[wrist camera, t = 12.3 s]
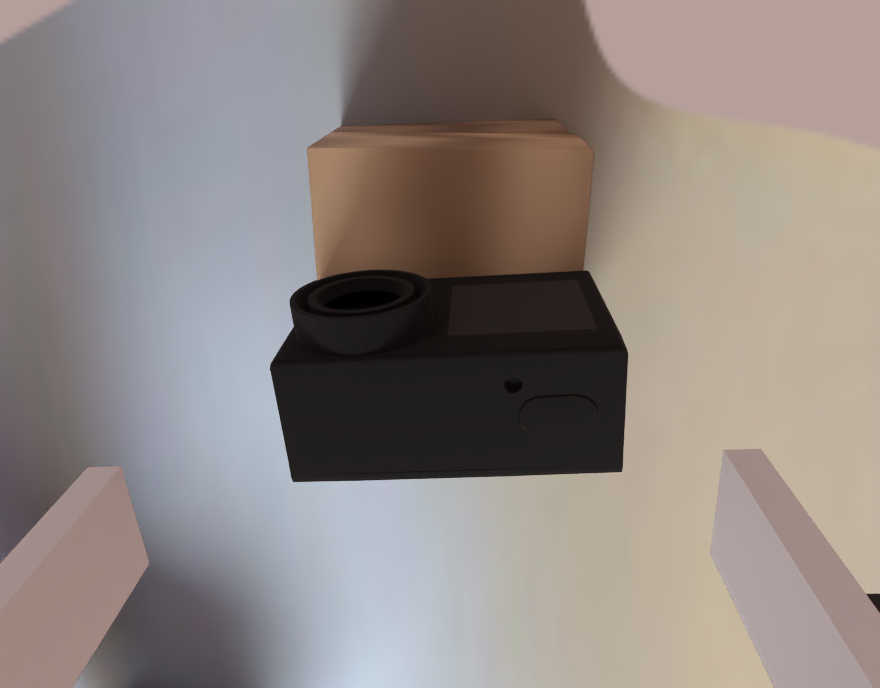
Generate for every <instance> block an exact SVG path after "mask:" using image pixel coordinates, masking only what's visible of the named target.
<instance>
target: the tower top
mask: <svg viewBox="0 0 880 688" xmlns="http://www.w3.org/2000/svg"><path fill="white" fill-rule="evenodd" d="M307 154H308V167H309V180H310V193H311V205H312V218H313V231H314V244H315V257H316V270H317V280H319V279H322V278H325V277H329V276H332V275H337V274H342V273H348V272H354V271H363V270H399V271H405V272H410V273H415V274H418V275H420V276H422V277H424V278H426V279H430V278H450V277H469V276H489V275H509V274H528V273H548V272H568V271H583V266H584V256H585V245H586V234H587V224H588V213H589V202H590V191H591V181H592V170H593V159H594V150H593V149H592V148H591V147H590V146H589V145H588V144H587V143H586V142H585V141H584V140H583V139H581V138H580V137H579V136H578V135H577V134H532V133H396V132H331V133H330V134H328V135H327V136H325V137H323V138H322V139H320V140H319V141H317V142H316V143H314V144H312V145H311V146H309V147H308V148H307Z"/></svg>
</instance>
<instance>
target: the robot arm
mask: <svg viewBox="0 0 880 688" xmlns="http://www.w3.org/2000/svg"><path fill="white" fill-rule="evenodd" d="M710 554H711V556H712V558H713V560H714V562H715V564H716V566H717V569H718V571H719V573H720V575H721V577H722V579H723V581H724V583H725V585H726V588H727V590H728V592H729V594H730V596H731V598H732V600H733V602H734V604H735V606H736V609H737V611H738V613H739V615H740V617H741V619H742V621H743V623H744V625H745V628H746V630H747V632H748V634H749V636H750V638H751V640H752V642H753V644H754V646H755V649H756V651H757V653H758V655H759V657H760V659H761V661H762V663H763V665H764V667H765V670H766V672H767V674H768V676H769V678H770V680H771V682H772V684H773V686H774V688H880V594H866V593H865V592H864V591H863V589H862V588H861V587H860V585H859V584H858V582H857V581H856V580H855V578H854V577H853V575H852V574H851V573H850V571H849V570H848V569H847V567H846V566H845V564H844V563H843V562H842V560H841V559H840V558H839V556H838V555H837V553H836V552H835V551H834V549H833V548H832V546H831V545H830V544H829V542H828V541H827V540H826V538H825V537H824V535H823V534H822V533H821V531H820V530H819V529H818V527H817V526H816V524H815V523H814V522H813V520H812V519H811V517H810V516H809V515H808V513H807V512H806V511H805V509H804V508H803V506H802V505H801V504H800V502H799V501H798V500H797V498H796V497H795V495H794V494H793V493H792V491H791V490H790V489H789V487H788V486H787V484H786V483H785V482H784V480H783V479H782V477H781V476H780V475H779V473H778V472H777V471H776V469H775V468H774V466H773V465H772V464H771V462H770V461H769V460H768V458H767V457H766V455H765V454H764V453H763V451H762V450H761V449H740V450H724V451H723V458H722V466H721V473H720V481H719V489H718V496H717V504H716V512H715V519H714V527H713V535H712V542H711V550H710ZM148 565H149V559H148V556H147V553H146V549H145V546H144V542H143V539H142V536H141V532H140V529H139V526H138V522H137V519H136V516H135V512H134V509H133V505H132V502H131V499H130V495H129V492H128V489H127V485H126V482H125V478H124V475H123V472H122V468H121V466H114V467H87V469H86V470H85V471H84V472H83V473H82V474H81V475H80V476H79V477H78V478H77V480H76V481H75V482H74V483H73V484H72V485H71V486H70V487H69V488H68V489H67V491H66V492H65V493H64V494H63V495H62V496H61V497H60V498H59V499H58V500H57V502H56V503H55V504H54V505H53V506H52V507H51V508H50V509H49V510H48V511H47V513H46V514H45V515H44V516H43V517H42V518H41V519H40V520H39V521H38V522H37V524H36V525H35V526H34V527H33V528H32V529H31V530H30V531H29V532H28V533H27V535H26V536H25V537H24V538H23V539H22V540H21V541H20V542H19V543H18V545H17V546H16V547H15V548H14V549H13V550H12V551H11V552H10V553H9V554H8V556H7V557H6V558H5V559H4V560H3V561H2V562H1V563H0V688H73V686H74V684H75V683H76V681H77V680H78V678H79V676H80V675H81V673H82V672H83V670H84V668H85V667H86V665H87V663H88V662H89V660H90V659H91V657H92V655H93V654H94V652H95V651H96V649H97V647H98V646H99V644H100V642H101V641H102V639H103V638H104V636H105V634H106V633H107V631H108V630H109V628H110V626H111V625H112V623H113V622H114V620H115V618H116V617H117V615H118V613H119V612H120V610H121V609H122V607H123V605H124V604H125V602H126V601H127V599H128V597H129V596H130V594H131V592H132V591H133V589H134V588H135V586H136V584H137V583H138V581H139V580H140V578H141V576H142V575H143V573H144V571H145V570H146V568H147V567H148Z"/></svg>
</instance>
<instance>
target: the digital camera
mask: <svg viewBox="0 0 880 688" xmlns="http://www.w3.org/2000/svg"><path fill="white" fill-rule="evenodd" d="M290 308H291V313H292V318H293V323H294V327H293V329H292V331H291V332H290V334H289V335H288V337H287V339H286V340H285V342H284V343H283V345H282V347H281V348H280V350H279V351H278V353H277V354H276V356H275V358H274V359H273V361H272V363H271V365H270V371H271V375H272V380H273V385H274V390H275V395H276V400H277V405H278V410H279V415H280V420H281V426H282V431H283V436H284V441H285V446H286V451H287V456H288V461H289V467H290V472H291V477H292V480H293V482H311V481H360V480H394V479H427V478H461V477H494V476H523V475H551V474H579V473H607V472H622V468H623V446H624V426H625V406H626V386H627V366H628V352H627V349H626V346H625V344H624V341H623V339H622V336H621V334H620V332H619V330H618V328H617V326H616V324H615V322H614V320H613V318H612V316H611V314H610V312H609V310H608V308H607V306H606V304H605V302H604V300H603V298H602V296H601V294H600V292H599V290H598V288H597V286H596V284H595V282H594V280H593V278H592V276H591V274H590V272H588V271H568V272H548V273H528V274H509V275H489V276H469V277H450V278H430V279H426V278H424V277H422V276H420V275H418V274H415V273H410V272H405V271H399V270H363V271H354V272H348V273H342V274H337V275H332V276H329V277H325V278H322V279H319V280H316V281H313V282H311V283H309V284H307V285H305V286H303V287H301V288H300V289H298V290H297V291H296V292H295V293H294V294H293V295H292V296H291V299H290Z"/></svg>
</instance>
